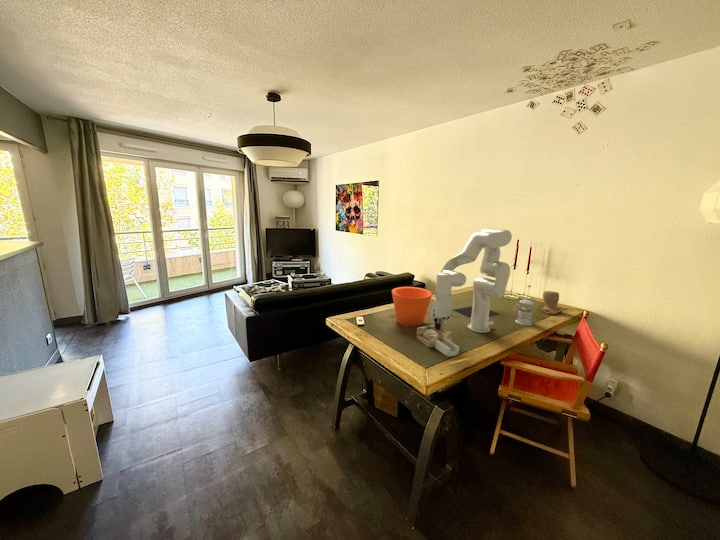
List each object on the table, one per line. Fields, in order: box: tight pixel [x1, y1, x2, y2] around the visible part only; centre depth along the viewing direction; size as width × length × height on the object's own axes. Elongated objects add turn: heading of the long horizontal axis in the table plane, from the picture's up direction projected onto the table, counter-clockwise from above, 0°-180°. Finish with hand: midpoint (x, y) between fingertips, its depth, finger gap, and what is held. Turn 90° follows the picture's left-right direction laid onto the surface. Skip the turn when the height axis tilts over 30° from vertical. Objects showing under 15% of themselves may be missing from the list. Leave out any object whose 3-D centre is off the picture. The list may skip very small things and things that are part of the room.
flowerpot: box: [391, 286, 433, 328], centre depth 169 cm, size 25×25×20 cm
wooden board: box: [434, 318, 448, 334], centre depth 145 cm, size 2×7×12 cm, turn 22°
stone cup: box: [540, 290, 562, 315], centre depth 193 cm, size 15×12×15 cm
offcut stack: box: [423, 329, 438, 341], centre depth 143 cm, size 5×7×6 cm
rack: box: [416, 324, 453, 348], centre depth 144 cm, size 14×11×7 cm
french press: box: [513, 284, 535, 326], centre depth 172 cm, size 10×12×25 cm
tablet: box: [451, 306, 502, 320], centre depth 191 cm, size 27×1×20 cm
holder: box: [433, 338, 460, 358], centre depth 134 cm, size 7×10×5 cm, turn 22°
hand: (440, 328), depth 145 cm, fingers open, 3 cm apart
